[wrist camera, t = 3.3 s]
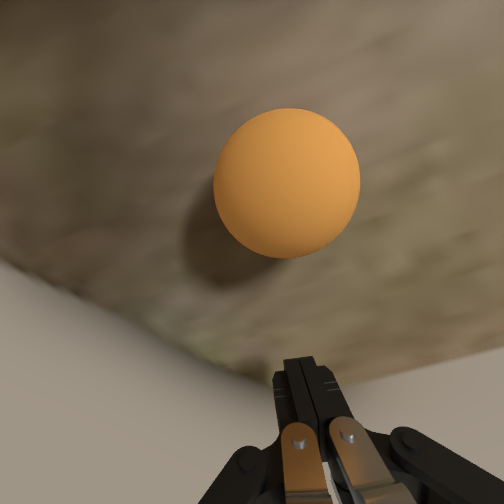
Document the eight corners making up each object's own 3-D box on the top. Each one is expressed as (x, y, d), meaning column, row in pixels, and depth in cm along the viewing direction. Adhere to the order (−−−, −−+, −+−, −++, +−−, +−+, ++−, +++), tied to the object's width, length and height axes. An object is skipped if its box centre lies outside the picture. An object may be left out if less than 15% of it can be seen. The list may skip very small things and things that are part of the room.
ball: (210, 130, 13) (188, 98, 7) (329, 117, 13) (397, 75, 8) (227, 245, 15) (219, 290, 9) (331, 232, 15) (388, 270, 9)
